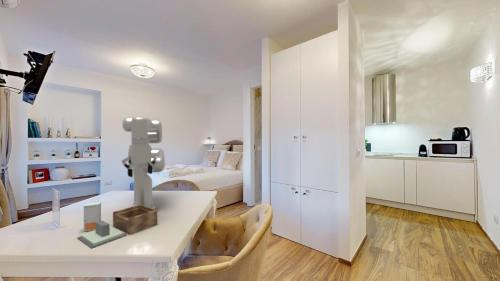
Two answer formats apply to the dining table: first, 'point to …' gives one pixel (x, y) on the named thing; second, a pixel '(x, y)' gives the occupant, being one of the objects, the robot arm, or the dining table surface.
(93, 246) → the rubber mat
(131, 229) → the walnut box
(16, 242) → the dining table surface
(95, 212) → the skincare box
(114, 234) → the cover plate
